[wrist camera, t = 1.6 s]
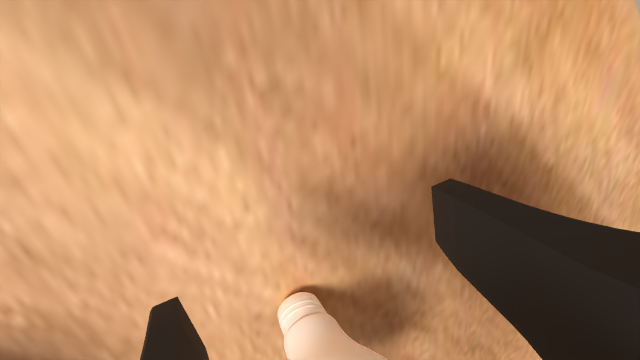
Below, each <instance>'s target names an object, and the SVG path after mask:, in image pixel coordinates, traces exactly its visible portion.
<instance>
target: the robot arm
mask: <svg viewBox="0 0 640 360" xmlns="http://www.w3.org/2000/svg"><path fill="white" fill-rule="evenodd" d="M432 200H433V212H434V225H435V238H436V242H437V244H438V245H439V246H440V248H441V249H442V251H443V252H444V253H445V255H446V256H447V257H448V259H449V260H450V261H451V262H452V264H453V265H454V266H455V267H456V269H457V270H458V271H459V272H460V273H461V274H462V275H463V276H464V277H465V278H466V279H467V280H468V281H469V282H470V283H471V284H472V285H473V286H474V287H475V288H476V289H477V290H478V291H479V292H480V293H481V294H482V295H483V296H484V297H485V298H486V299H487V300H488V301H489V302H490V303H491V304H492V305H493V306H494V307H495V308H496V309H497V310H498V311H499V312H500V313H501V314H502V315H503V316H504V317H505V318H506V319H507V320H508V321H509V322H510V323H511V324H512V325H513V326H514V327H515V328H516V329H517V330H518V331H519V332H520V334H521V335H522V336H523V337H524V338H525V339H526V340H527V341H528V343H529V344H530V345H531V346H532V347H533V349H534V350H535V351H536V352H537V353H538V355H539V356H540V357H541V358H542V360H640V232H634V231H628V230H622V229H617V228H612V227H607V226H603V225H598V224H594V223H589V222H585V221H581V220H577V219H573V218H569V217H565V216H562V215H558V214H555V213H551V212H548V211H544V210H541V209H538V208H535V207H532V206H528V205H525V204H522V203H519V202H516V201H513V200H511V199H508V198H505V197H502V196H499V195H496V194H493V193H491V192H488V191H485V190H482V189H480V188H477V187H474V186H471V185H468V184H465V183H463V182H460V181H456V180H453V179H448V180H446V181H444V182H441V183H439V184H437V185H434V186H432ZM140 360H209V358H208V354H207V351H206V348H205V346H204V344H203V342H202V340H201V339H200V337H199V335H198V333H197V331H196V329H195V328H194V326H193V324H192V322H191V320H190V319H189V317H188V315H187V313H186V311H185V310H184V308H183V306H182V304H181V302H180V301H179V299H178V297H175V298H173V299H170V300H168V301H166V302H163V303H161V304H159V305H156V306H154V307H153V308H152V309H151V311H150V315H149V321H148V327H147V332H146V337H145V341H144V346H143V350H142V354H141V358H140Z"/></svg>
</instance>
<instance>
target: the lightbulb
mask: <svg viewBox="0 0 640 360" xmlns="http://www.w3.org/2000/svg"><path fill="white" fill-rule="evenodd" d="M277 316H278V320H279V323H280V327H281V329H282V333H283V334H284V337H285V338H284V349H285V352H286V355H287V358H288V360H388V359H386V358H385V357H383V356H381V355H380V354H378V353H376V352H374V351H373V350H371V349H369V348H367V347H365V346H362V345H360V344H358V343H357V342H355V341H354V340H352V339H351V338H350V337H349V336H348V335H347V334H346V333H345V332H344V331H343V330H342V329H341V327H340V326H339V324H338V323H337V321H336V320H335V319H334V318H333V317H332V316H330V315H328V314H327V312H326V311H325V309H324V308H323V306H322V305H321V303H320V301H319V300H318V299H317V297H316V296H315V295H313V294H311V293H307V292H299V293H295V294H293V295H291V296H289V297H288V298H286V299H285V300H284V301H283V302H282V304H281V305H280V307H279V309H278V314H277Z"/></svg>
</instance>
